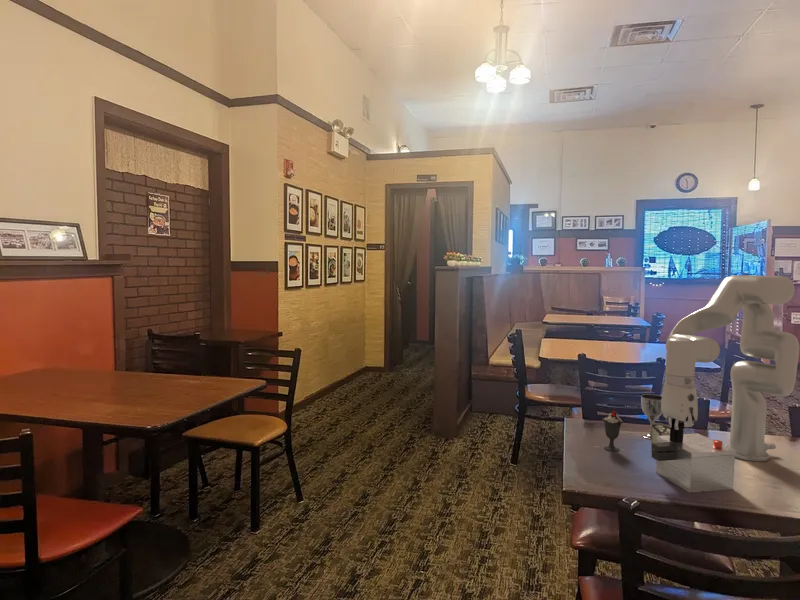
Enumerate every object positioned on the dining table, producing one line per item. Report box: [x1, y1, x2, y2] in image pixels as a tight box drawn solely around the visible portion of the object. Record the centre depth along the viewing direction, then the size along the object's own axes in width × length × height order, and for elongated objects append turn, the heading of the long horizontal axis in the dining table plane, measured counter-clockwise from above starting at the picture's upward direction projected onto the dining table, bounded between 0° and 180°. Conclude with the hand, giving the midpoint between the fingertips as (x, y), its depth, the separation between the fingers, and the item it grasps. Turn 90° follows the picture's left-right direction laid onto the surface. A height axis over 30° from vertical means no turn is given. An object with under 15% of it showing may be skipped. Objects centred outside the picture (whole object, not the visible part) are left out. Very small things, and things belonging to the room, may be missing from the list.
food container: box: [650, 421, 671, 453], centre depth 170 cm, size 12×6×10 cm, turn 168°
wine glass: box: [640, 393, 663, 441], centre depth 190 cm, size 8×8×15 cm
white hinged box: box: [651, 441, 736, 494], centre depth 152 cm, size 20×14×10 cm
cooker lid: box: [651, 433, 736, 458], centre depth 151 cm, size 20×14×3 cm
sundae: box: [601, 407, 624, 453], centre depth 177 cm, size 7×7×15 cm
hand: (676, 441), depth 153 cm, fingers closed
